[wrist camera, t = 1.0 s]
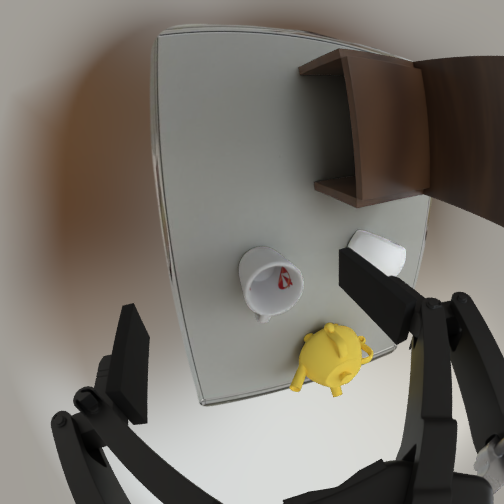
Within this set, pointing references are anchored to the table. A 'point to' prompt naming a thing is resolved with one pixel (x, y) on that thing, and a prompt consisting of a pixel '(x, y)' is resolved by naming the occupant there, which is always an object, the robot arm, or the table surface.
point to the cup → (269, 282)
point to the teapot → (331, 358)
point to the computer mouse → (379, 252)
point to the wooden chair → (422, 129)
